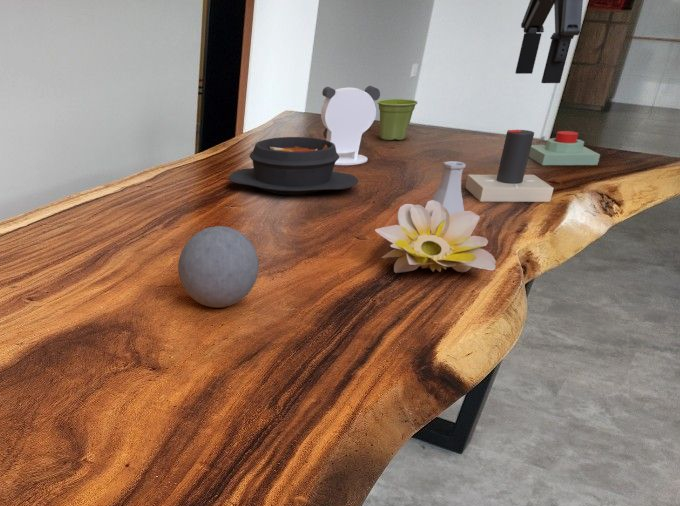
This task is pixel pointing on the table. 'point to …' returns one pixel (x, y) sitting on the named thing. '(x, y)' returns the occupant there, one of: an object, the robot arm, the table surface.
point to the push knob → (566, 137)
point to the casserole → (294, 167)
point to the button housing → (563, 153)
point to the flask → (451, 187)
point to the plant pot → (395, 117)
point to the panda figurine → (348, 120)
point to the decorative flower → (436, 239)
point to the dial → (515, 156)
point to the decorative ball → (218, 266)
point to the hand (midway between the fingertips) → (536, 78)
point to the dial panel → (509, 189)
